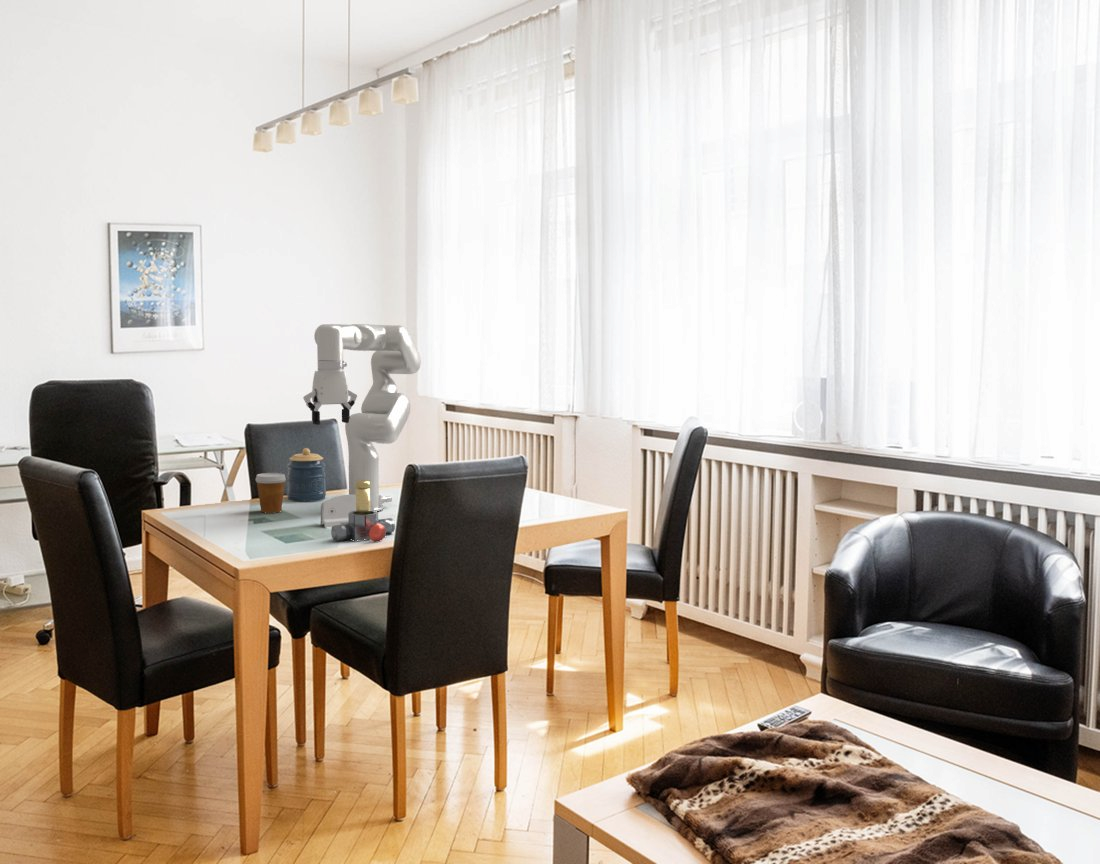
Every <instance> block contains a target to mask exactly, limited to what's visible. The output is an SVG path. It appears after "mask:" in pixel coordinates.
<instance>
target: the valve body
mask: <svg viewBox="0 0 1100 864" xmlns="http://www.w3.org/2000/svg"><path fill="white" fill-rule="evenodd" d="M370 512H371V514H367V515H356V511H351V512H350V513H348V520H349V522H345V523H341V525H335V526H333V527H332V528H330V534H331V539H333V541H334V540H335V541H334V542H339V541H340V540H342V541H347V540H346V539H352V540H354V541H357V540H364V539H371V540H370V541H372V542H375V541H379V542H381V541H383V539H384V538H386V537H387V534H386V533H390V534H393V533H394V532H395V530H396V525H395V521H394V520H393V518H391V517H387V518H380V519H379V512H376V511H372V510H370ZM392 532H393V533H392ZM385 536H386V537H385ZM380 540H381V541H380ZM354 541H353V542H354ZM364 541H365V540H364ZM340 542H341V541H340ZM357 542H358V541H357Z"/></svg>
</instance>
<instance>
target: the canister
mask: <svg viewBox="0 0 1100 864" xmlns="http://www.w3.org/2000/svg"><path fill="white" fill-rule="evenodd" d="M323 460H324V457H323V456H321V455H320V454H318V453H311V450H310V449H309V447H306V448H305V447H304V448H303V449H302V452H301V453H296V454H293V456H291V457H289V461H290V462H289V463H287V465H286V467H287V469H288V472H287V475H286V477H287V495H286V496H287V499H288V500H289V501H291V502H301V503H302V502H305V503H307V502H318V501H322V500H323V501H324V500H326V496H327V490H326V475H327V474H326V473H325V467H326V466H327V464H326V463H325V462H323Z"/></svg>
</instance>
